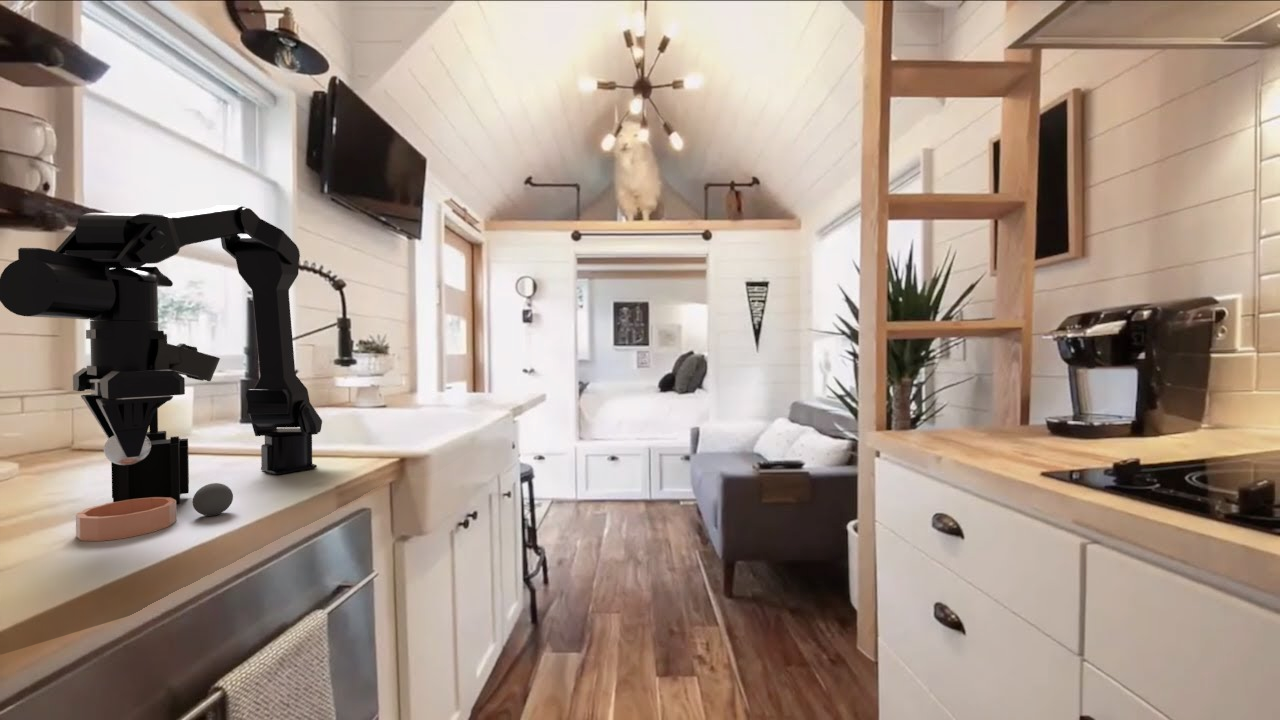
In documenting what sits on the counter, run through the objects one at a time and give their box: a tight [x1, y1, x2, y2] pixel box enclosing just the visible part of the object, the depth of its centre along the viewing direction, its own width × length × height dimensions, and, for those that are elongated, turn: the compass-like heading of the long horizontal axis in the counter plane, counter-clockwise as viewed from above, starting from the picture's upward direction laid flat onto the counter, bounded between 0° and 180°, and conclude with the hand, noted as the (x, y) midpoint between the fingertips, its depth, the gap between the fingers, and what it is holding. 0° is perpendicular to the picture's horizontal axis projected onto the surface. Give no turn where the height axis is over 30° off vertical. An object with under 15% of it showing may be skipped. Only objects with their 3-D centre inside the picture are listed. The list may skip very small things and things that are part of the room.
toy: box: [110, 408, 190, 506], centre depth 73 cm, size 8×14×10 cm
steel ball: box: [103, 435, 151, 465], centre depth 62 cm, size 4×4×4 cm
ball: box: [192, 482, 234, 517], centre depth 67 cm, size 4×4×4 cm
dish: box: [75, 497, 178, 542], centre depth 62 cm, size 8×8×2 cm
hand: (128, 454), depth 62 cm, fingers closed on steel ball, 4 cm apart
